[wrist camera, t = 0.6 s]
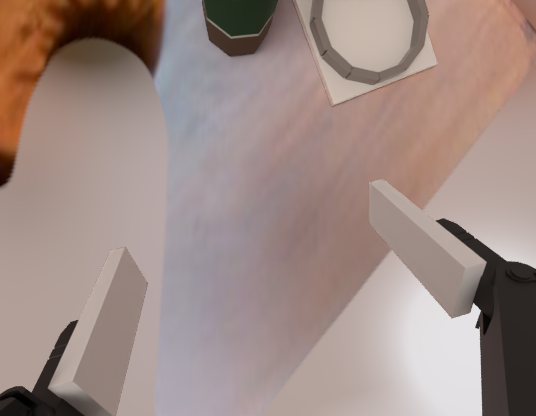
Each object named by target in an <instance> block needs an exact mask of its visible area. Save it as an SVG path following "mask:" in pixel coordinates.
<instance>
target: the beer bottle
mask: <svg viewBox="0 0 536 416" xmlns="http://www.w3.org/2000/svg"><path fill="white" fill-rule="evenodd" d="M277 1H278V0H202V5H203V11H204V16H205V21H206V26H207V31H208V36H209V40H210V41H211V42H212V43H214V44H215V45H216V46H217V47H219V48H220V49H221V50H223V51H224V52H225V53H227V54H228V55H229V56H234V55H243V54H252V53H254V52H255V50H256V49H257V47H258V46H259V44H260V43H261V41H262V40H263V39H264V37H265V36H266V34H267V32H268V29H269V27H270V24H271V21H272V18H273V14H274V11H275V8H276V4H277Z"/></svg>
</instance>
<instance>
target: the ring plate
mask: <svg viewBox="0 0 536 416" xmlns="http://www.w3.org/2000/svg"><path fill="white" fill-rule="evenodd" d="M293 3H294V6H295V8H296V11H297V14H298V17H299V19H300V22H301V25H302V27H303V30H304V33H305V36H306V38H307V41H308V44H309V46H310V49H311V52H312V55H313V57H314V60H315V63H316V66H317V68H318V71H319V74H320V76H321V79H322V82H323V85H324V87H325V90H326V93H327V95H328V98H329V101H330V104H331V106H335V105H337V104H340V103H342V102H345V101H347V100H350V99H352V98H355V97H357V96H360V95H362V94H365V93H368V92H370V91H373V90H375V89H378V88H380V87H383V86H385V85H388V84H390V83H393V82H395V81H398V80H400V79H403V78H406V77H408V76H411V75H413V74H416V73H418V72H421V71H423V70H426V69H428V68H431V67H433V66H435V65H437V60H436V57H435V54H434V51H433V48H432V44H431V41H430V38H429V35H428V32H427V24H428V17H429V15H427V14H428V9H427V6H426V3H425V0H293Z"/></svg>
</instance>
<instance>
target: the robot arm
mask: <svg viewBox="0 0 536 416" xmlns="http://www.w3.org/2000/svg"><path fill="white" fill-rule="evenodd" d="M369 224H370V225H371V226H372V227H373V228H374V229H375V231H376V232H377V233H378V234H379V235H380V236H381V238H382V239H383V240H384V241H385V242H386V243H387V244H388V246H389V247H390V248H391V249H392V250H393V251H394V252H395V253H396V255H397V256H398V257H399V258H400V259H401V260H402V262H403V263H404V264H405V265H406V266H407V267H408V268H409V269H410V271H411V272H412V273H413V274H414V275H415V277H416V278H417V279H418V280H419V281H420V282H421V283H422V285H423V286H424V287H425V288H426V289H427V290H428V291H429V293H430V294H431V295H432V296H433V297H434V298H435V300H436V301H437V302H438V303H439V304H440V305H441V306H442V308H443V309H444V310H445V311H446V312H447V313H448V315H449V316H450V317H451V318H454V317H458V316H461V315H465V314H468V313H470V312H471V308H472V305H473V303H474V304H475V305H476V306H478V308H479V309H480V310H481V312H480V315H479V318H478V321H477V324H476V327H475V328H478V329H479V327H480V350H481V378H482V381H481V382H482V416H536V269H535V268H533V267H531V266H529V265H526V264H523V263H519V262H509V261H508V262H507V261H506V260H504V259H503V258H501V257H500V256H499V255H498V254H496V253H495V252H494V251H492V250H491V249H490V248H488V247H487V246H486V245H484V244H483V243H482V242H480V241H479V240H478V239H475V238H474V236H472V235H471V234H469V233H467V232H466V230H464V229H463V228H462V227H460V226H459V225H458V224H456V223H454V222H451V221H448V220H446V219H440V220H436V221H435V220H434V219H432V218H431V217H430V216H428V215H427V214H426V213H425V212H424V211H422V210H421V209H420V208H419V207H418V206H416V205H415V204H414V203H413V202H411V201H410V200H409V199H408V198H406V197H405V196H404V195H403V194H401V193H400V192H399V191H398V190H396V189H395V188H394V187H393V186H391V185H390V184H389V183H388V182H386V181H385V180H384V179H380V180H376V181H372V182H369ZM147 284H148V283H147V281H146V279H145V278H144V276H143V275H142V273H141V271H140V270H139V268H138V267H137V265H136V263H135V262H134V260H133V258H132V257H131V255H130V254H129V252H128V250H127V249H126V247H122V248H119V249H115V250H111V251H110V253H109V255H108V257H107V259H106V261H105V264H104V266H103V268H102V270H101V272H100V274H99V277H98V279H97V281H96V283H95V285H94V288H93V290H92V292H91V294H90V296H89V299H88V301H87V303H86V305H85V307H84V310H83V312H82V314H81V316H80V318H79V320H76V321H73V322H70V324H69V325H68V326H67V328H65V330H64V331H63V332H62V333H61V334H60V336H59V339H58V341H57V342H56V344H55V349H53V351H52V353H51V355H50V357H49V358H50V359H49V360H48V361H47V363H46V365H45V367H44V369H43V371H42V373H41V375H40V377H39V379H38V381H37V383H36V385H35V387H34V389H33V391H32V393H31V392H30V391H28V390H27V389H25V388H24V387H23V386H16V387H13V388H10V389H8V390H6V391H4V392H3V393H1V394H0V416H116V413H117V409H118V405H119V401H120V396H121V393H122V388H123V384H124V380H125V376H126V372H127V367H128V364H129V360H130V355H131V351H132V347H133V343H134V338H135V335H136V331H137V326H138V322H139V318H140V314H141V310H142V306H143V302H144V298H145V294H146V289H147Z"/></svg>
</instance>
